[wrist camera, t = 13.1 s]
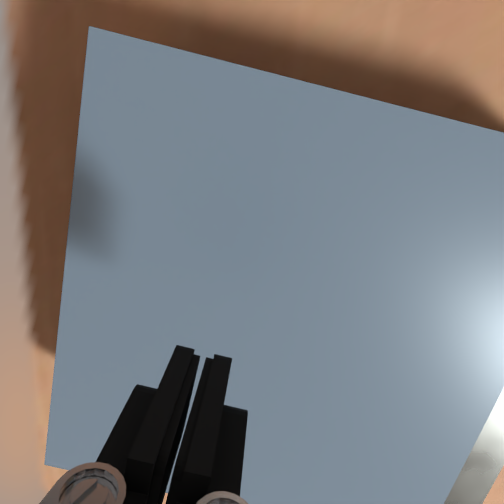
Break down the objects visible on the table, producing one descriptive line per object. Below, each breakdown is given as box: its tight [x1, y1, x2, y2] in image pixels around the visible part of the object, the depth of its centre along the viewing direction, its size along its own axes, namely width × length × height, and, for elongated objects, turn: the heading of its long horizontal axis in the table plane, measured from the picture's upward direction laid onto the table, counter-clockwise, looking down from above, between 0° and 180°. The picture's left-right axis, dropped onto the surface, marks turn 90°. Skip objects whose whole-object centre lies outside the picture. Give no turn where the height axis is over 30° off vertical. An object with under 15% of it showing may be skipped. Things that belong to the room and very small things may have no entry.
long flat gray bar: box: [444, 388, 504, 504], centre depth 22 cm, size 21×2×7 cm, turn 166°
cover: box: [44, 26, 504, 504], centre depth 21 cm, size 21×20×7 cm
